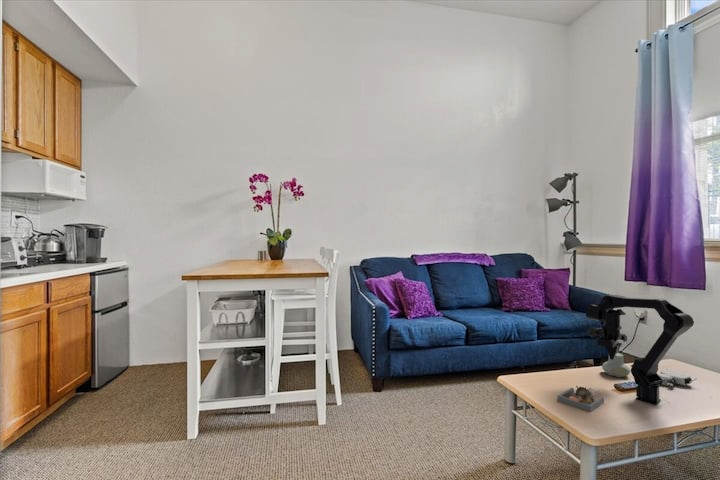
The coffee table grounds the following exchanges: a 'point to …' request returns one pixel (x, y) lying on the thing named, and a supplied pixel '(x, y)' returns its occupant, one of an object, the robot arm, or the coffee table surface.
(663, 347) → the robot arm
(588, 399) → the eagle figurine
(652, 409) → the coffee table surface
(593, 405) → the pocket
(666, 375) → the robot toy
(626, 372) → the air freshener
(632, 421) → the coffee table surface
